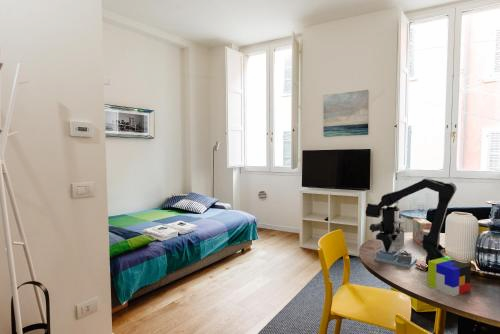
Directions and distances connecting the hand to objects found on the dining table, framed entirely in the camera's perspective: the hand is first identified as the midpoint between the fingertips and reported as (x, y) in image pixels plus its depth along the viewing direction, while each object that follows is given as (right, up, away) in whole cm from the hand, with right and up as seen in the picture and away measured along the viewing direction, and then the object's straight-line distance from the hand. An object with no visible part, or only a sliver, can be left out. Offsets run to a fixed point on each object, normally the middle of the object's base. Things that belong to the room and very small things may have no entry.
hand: (388, 250), depth 152 cm
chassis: (+2, -4, -2) cm, 5 cm away
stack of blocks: (+30, -2, +21) cm, 37 cm away
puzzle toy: (+9, -6, -32) cm, 34 cm away
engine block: (0, -1, 0) cm, 1 cm away
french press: (+13, -3, +21) cm, 25 cm away
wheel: (+4, -2, -7) cm, 9 cm away
